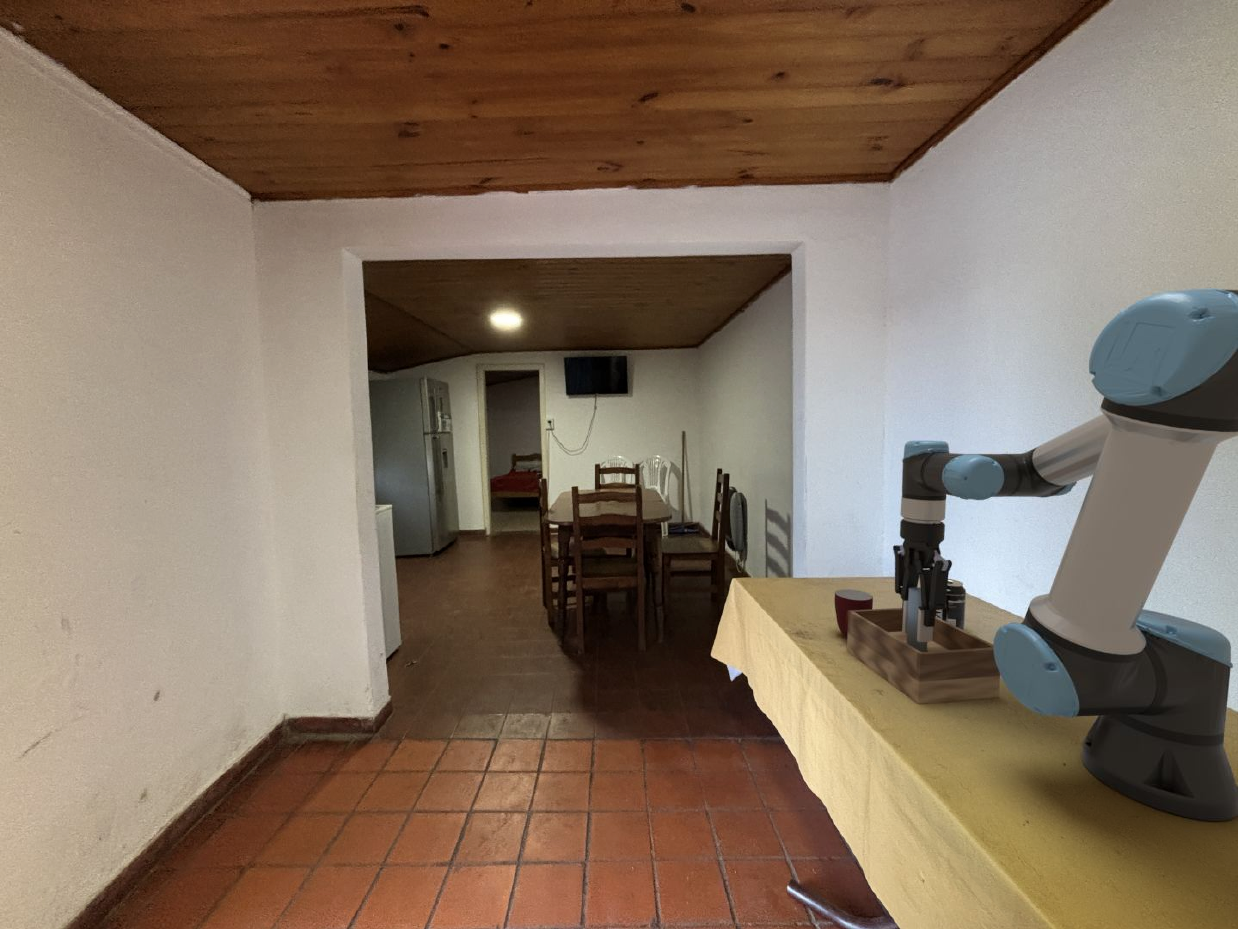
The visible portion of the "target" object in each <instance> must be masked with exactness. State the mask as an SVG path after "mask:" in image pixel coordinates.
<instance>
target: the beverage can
mask: <svg viewBox="0 0 1238 929" xmlns="http://www.w3.org/2000/svg"><path fill="white" fill-rule="evenodd" d="M963 585H964V583H963V582H962V581H959V580H957V579H952V578H948V584H947V594H946V604H945V609H944V610H936V611H935V617H937V618H939V619H941V620H943V621H945V622H947V623H950V624H952V625H954V626H956V627H958V628H960V629H962V630H964V631H965V623H966V622H965V619H966V601H967V599H966V598H967V590H966V588H965V587H964V586H963Z"/></svg>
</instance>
